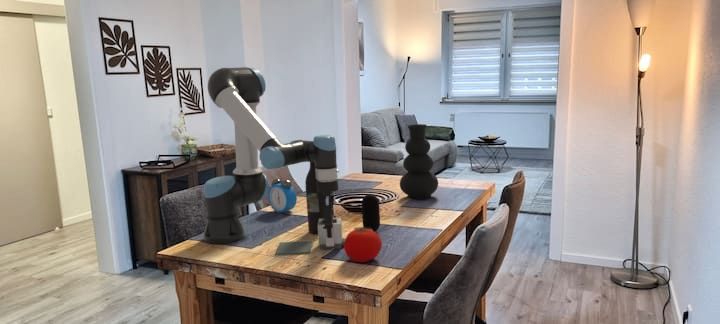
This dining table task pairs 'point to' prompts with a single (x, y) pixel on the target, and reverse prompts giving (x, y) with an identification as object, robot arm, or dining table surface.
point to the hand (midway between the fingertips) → (330, 241)
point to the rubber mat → (294, 248)
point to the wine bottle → (313, 200)
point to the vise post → (338, 246)
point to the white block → (336, 231)
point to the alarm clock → (282, 195)
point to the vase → (418, 165)
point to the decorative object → (371, 212)
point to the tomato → (362, 245)
